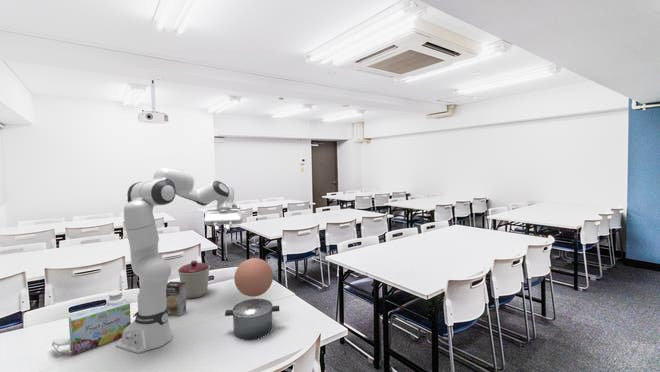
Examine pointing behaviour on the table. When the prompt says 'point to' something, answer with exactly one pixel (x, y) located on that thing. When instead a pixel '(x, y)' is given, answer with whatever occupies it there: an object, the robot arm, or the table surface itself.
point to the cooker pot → (252, 318)
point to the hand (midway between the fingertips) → (222, 230)
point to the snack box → (98, 326)
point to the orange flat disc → (253, 277)
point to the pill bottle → (115, 298)
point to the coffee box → (176, 298)
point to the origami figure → (62, 342)
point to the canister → (195, 278)
